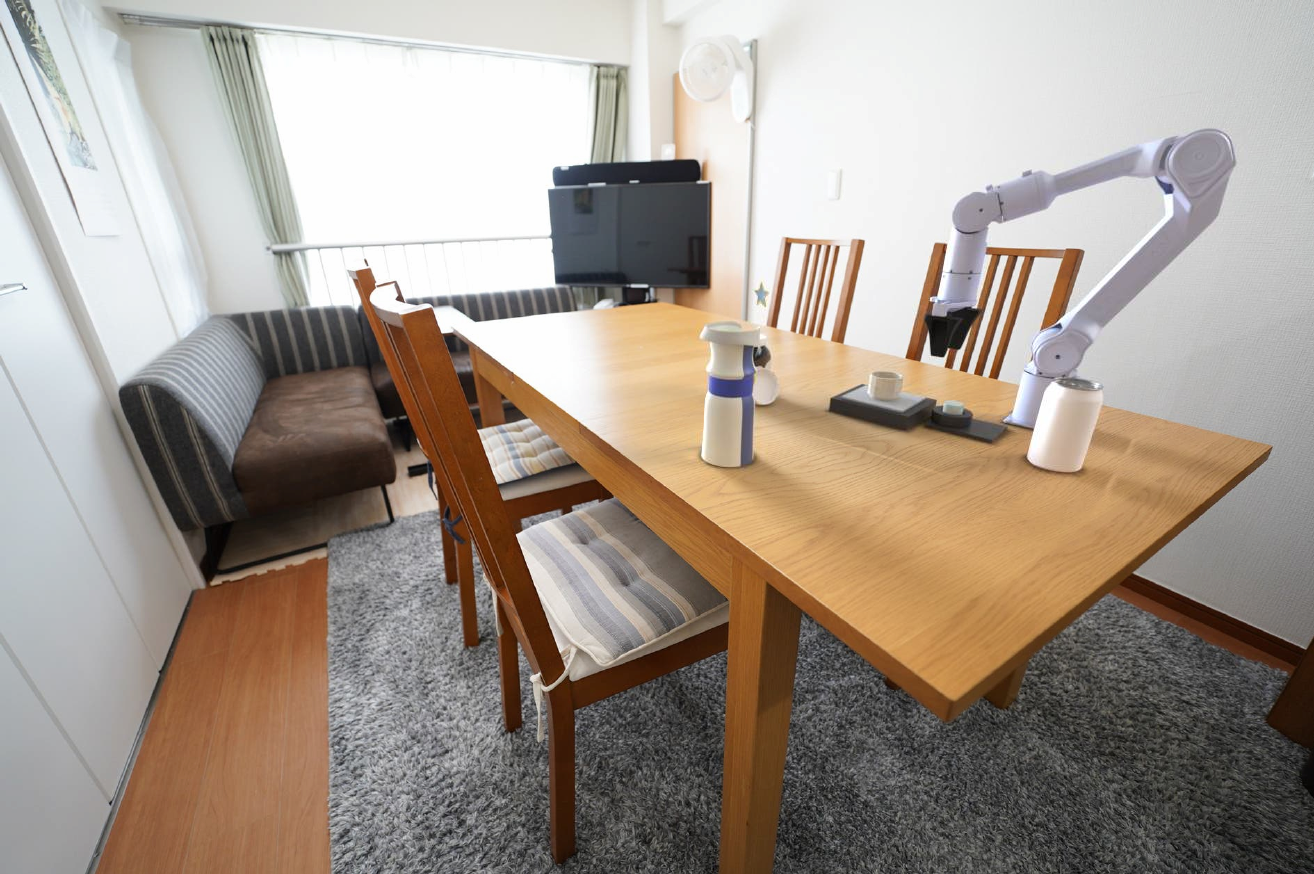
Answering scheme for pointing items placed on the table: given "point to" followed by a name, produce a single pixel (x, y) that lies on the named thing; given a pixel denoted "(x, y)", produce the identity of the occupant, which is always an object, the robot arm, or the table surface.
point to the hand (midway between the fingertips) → (945, 352)
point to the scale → (883, 408)
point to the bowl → (885, 385)
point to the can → (1065, 424)
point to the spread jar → (764, 375)
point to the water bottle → (730, 392)
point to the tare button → (953, 407)
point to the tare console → (965, 425)
